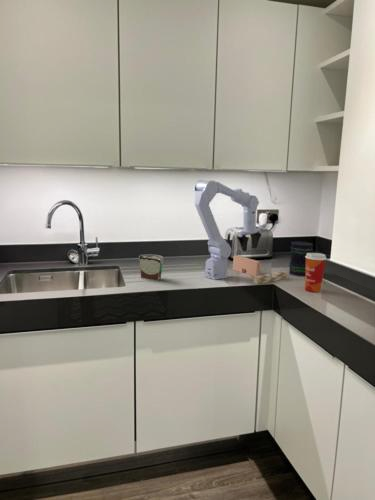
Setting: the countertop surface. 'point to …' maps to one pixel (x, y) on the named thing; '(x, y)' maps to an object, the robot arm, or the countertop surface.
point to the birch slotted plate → (268, 277)
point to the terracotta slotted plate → (246, 265)
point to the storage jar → (299, 257)
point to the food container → (151, 266)
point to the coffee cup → (314, 271)
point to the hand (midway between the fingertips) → (249, 249)
